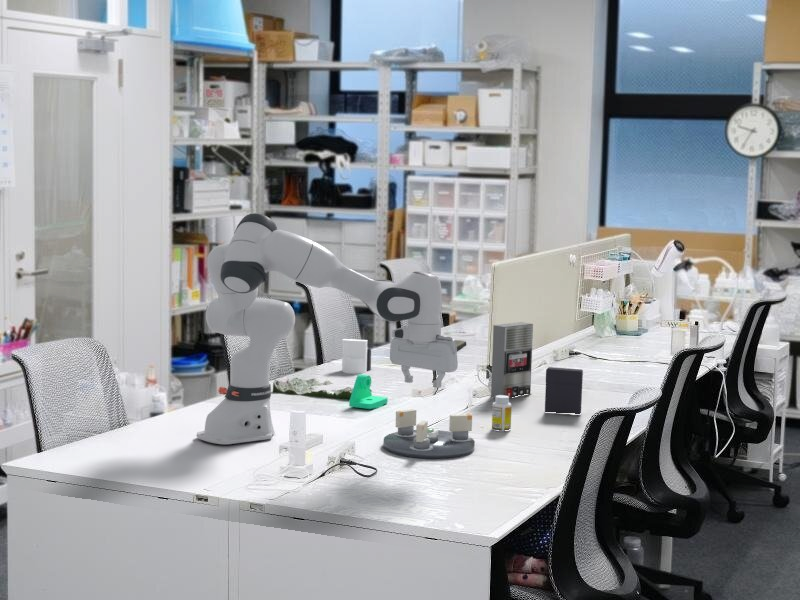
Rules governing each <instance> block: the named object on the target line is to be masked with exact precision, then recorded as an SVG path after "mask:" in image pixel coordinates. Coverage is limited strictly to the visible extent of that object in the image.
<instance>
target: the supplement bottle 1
mask: <svg viewBox="0 0 800 600" xmlns="http://www.w3.org/2000/svg"><path fill="white" fill-rule="evenodd" d="M366 340H367V372H369V371H371V370H372V349H371V348H370V347H369V345H370V344H369V343H370V342H369V340H368V339H366Z"/></svg>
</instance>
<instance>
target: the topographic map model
mask: <svg viewBox="0 0 800 600" xmlns="http://www.w3.org/2000/svg"><path fill="white" fill-rule="evenodd" d="M328 385H329V386H330V385H334V383H333V382H332V381H330V380H325V381H324V382H321V381H319V380H317V379H316V378H309V379H304V378H303V379H302V378H299V377H293V378H292V379H289V378H287V380H286V382H285V381H281V380H277V379H274V381H273V384H272V393H273V394H274V393H275V394H284V395H297V396H306V397H316V398H322V399H323V398H325V399H334V400H336V399H337V400H345V401H350V398H351V394H352V391H353V388H354V387H350V386H347V387H345V388H343V389H331V390H330V391H331V392H328V390H326V389H321V390H318V391H316V389H317V388H319V387H321V386H328ZM317 386H319V387H317ZM370 391H371V392H372V389H371V388H370ZM332 392H333V393H332Z"/></svg>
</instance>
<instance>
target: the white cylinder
mask: <svg viewBox="0 0 800 600" xmlns="http://www.w3.org/2000/svg"><path fill="white" fill-rule="evenodd" d="M367 340H368V339H354V338H342V344H341V345H342V351H341V352H342V354H341V355H342V356H341V357H342V358H341V360H342V361H341V372H343V373H345V374H355V375H356V374H357V375H359V374H364V373H367V372H368V371H367Z"/></svg>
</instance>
